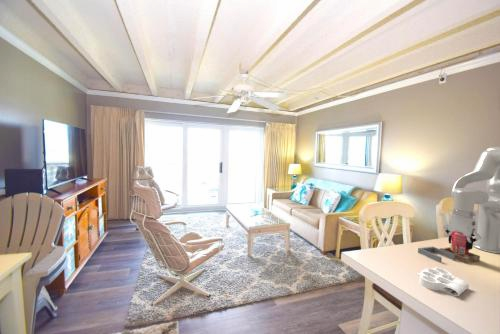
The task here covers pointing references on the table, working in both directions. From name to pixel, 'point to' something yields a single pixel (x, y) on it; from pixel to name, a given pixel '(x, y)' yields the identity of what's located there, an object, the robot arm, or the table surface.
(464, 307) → the table surface
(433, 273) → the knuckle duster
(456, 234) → the soda can
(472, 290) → the table surface
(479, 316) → the table surface
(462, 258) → the tray
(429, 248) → the frame
